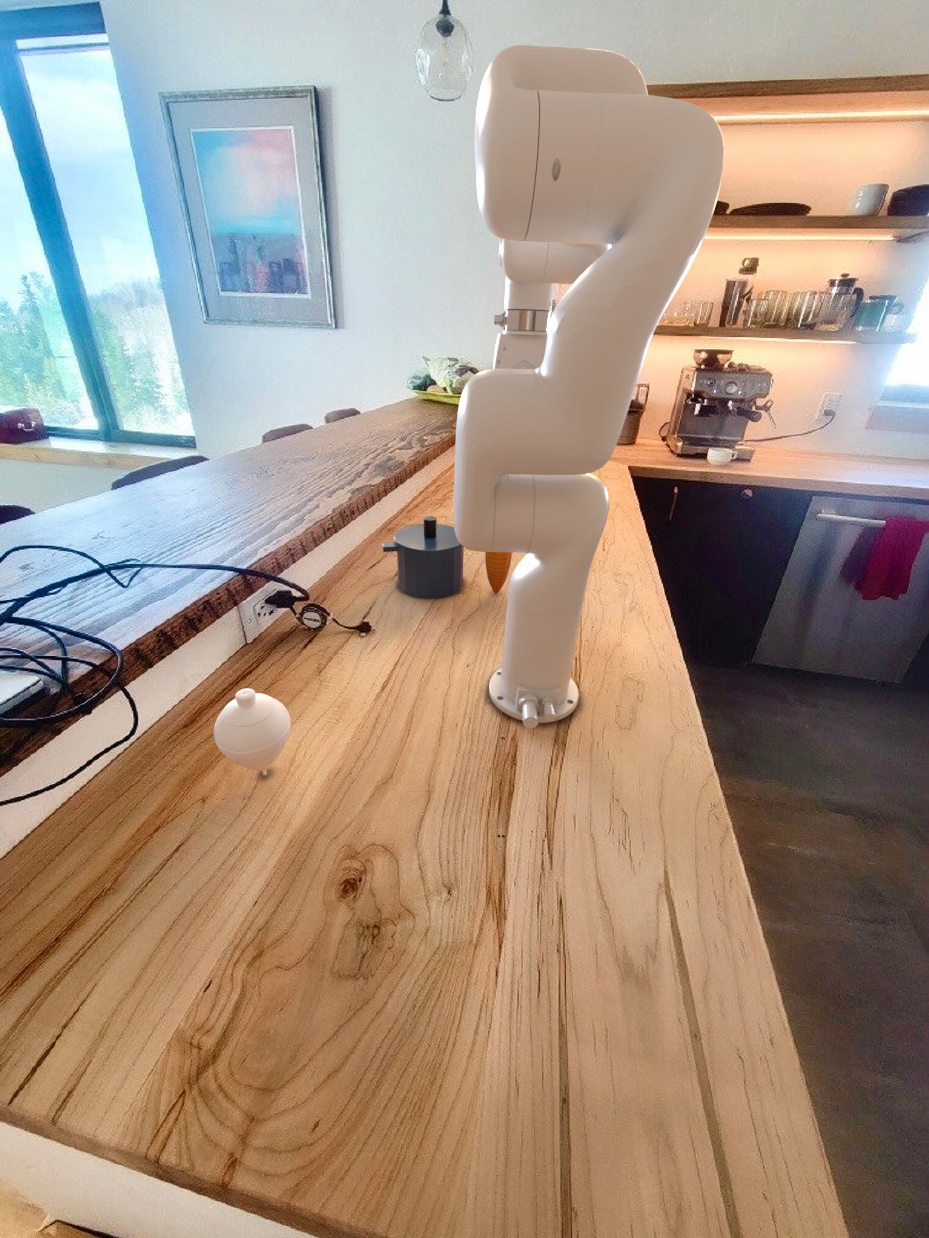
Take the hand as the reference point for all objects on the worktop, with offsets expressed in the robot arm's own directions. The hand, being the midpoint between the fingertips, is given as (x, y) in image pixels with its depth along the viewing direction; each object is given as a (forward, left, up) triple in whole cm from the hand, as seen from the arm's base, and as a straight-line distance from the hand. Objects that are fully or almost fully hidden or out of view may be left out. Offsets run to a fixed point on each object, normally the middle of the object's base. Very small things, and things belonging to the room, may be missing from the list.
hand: (517, 436), depth 89 cm
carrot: (-7, +2, -28) cm, 29 cm away
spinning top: (-54, +29, -28) cm, 67 cm away
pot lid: (-4, +15, -18) cm, 24 cm away
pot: (-4, +15, -28) cm, 32 cm away
